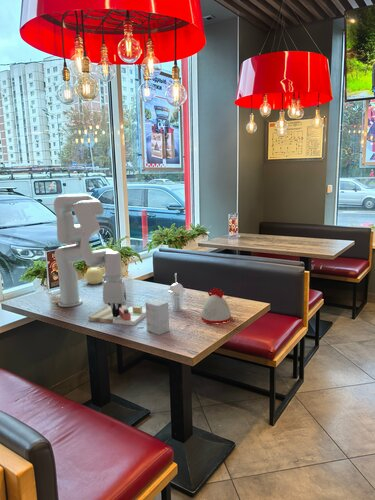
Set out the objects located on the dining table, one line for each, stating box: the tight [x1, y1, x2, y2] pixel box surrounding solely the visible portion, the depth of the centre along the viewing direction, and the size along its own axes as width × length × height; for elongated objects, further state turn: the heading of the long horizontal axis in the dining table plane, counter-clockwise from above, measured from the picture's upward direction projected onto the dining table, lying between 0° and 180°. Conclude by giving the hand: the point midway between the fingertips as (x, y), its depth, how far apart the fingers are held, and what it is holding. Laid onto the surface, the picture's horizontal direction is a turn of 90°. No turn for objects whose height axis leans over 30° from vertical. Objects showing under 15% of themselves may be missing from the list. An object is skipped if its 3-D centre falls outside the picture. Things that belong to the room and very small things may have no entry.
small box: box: [145, 298, 170, 336], centre depth 168 cm, size 8×6×13 cm
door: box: [112, 305, 146, 326], centre depth 186 cm, size 11×18×4 cm, turn 162°
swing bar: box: [119, 307, 131, 320], centre depth 181 cm, size 10×3×4 cm, turn 27°
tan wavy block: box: [88, 304, 130, 324], centre depth 189 cm, size 13×18×5 cm
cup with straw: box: [167, 272, 186, 312], centre depth 193 cm, size 8×9×20 cm
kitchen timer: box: [200, 287, 232, 324], centre depth 180 cm, size 14×14×15 cm
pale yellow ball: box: [85, 266, 105, 285], centre depth 249 cm, size 11×12×11 cm
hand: (116, 316), depth 181 cm, fingers closed
